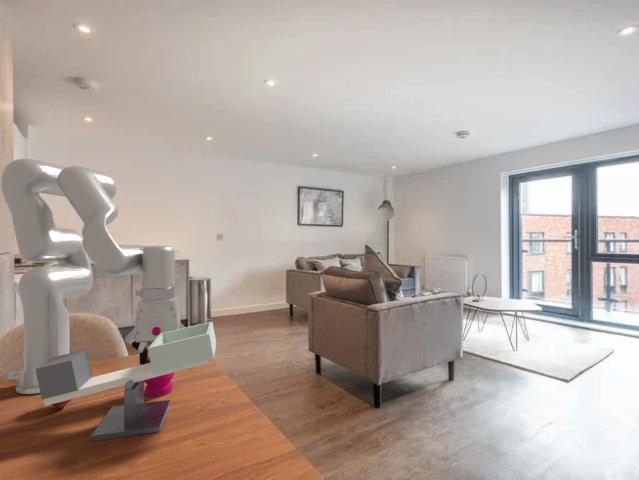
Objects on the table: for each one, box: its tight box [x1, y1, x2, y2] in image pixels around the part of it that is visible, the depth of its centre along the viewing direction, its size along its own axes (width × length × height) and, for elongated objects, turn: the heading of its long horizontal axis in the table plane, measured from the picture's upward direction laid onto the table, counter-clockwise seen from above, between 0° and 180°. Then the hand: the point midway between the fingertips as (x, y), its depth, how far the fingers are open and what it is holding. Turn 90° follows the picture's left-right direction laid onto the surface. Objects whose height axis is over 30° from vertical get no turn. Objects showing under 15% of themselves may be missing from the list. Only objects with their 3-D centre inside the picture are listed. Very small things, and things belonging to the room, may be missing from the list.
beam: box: [36, 321, 217, 407], centre depth 71 cm, size 32×12×8 cm, turn 105°
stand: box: [90, 380, 171, 442], centre depth 71 cm, size 12×12×8 cm
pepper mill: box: [144, 327, 175, 398], centre depth 85 cm, size 7×7×20 cm
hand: (158, 365), depth 85 cm, fingers open, 5 cm apart
